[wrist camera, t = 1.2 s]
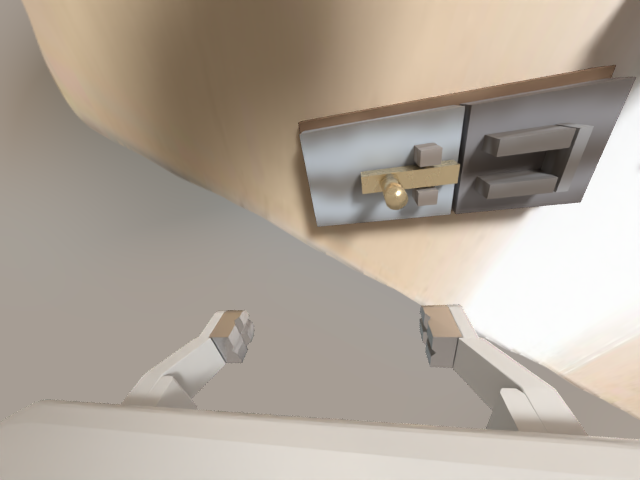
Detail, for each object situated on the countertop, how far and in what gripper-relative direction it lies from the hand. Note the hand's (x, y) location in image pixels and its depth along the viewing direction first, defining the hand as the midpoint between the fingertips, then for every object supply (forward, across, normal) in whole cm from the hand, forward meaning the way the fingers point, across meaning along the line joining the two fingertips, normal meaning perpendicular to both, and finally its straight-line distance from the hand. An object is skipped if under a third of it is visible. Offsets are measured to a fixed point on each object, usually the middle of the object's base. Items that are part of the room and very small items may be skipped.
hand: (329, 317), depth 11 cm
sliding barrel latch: (+26, -11, -1) cm, 28 cm away
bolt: (+20, -7, -1) cm, 22 cm away
